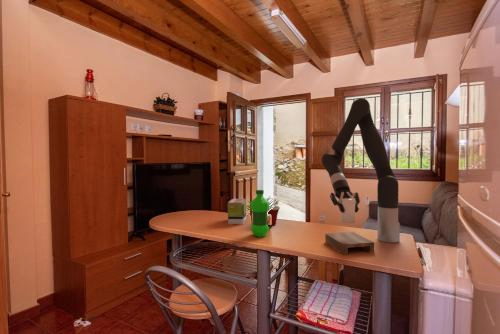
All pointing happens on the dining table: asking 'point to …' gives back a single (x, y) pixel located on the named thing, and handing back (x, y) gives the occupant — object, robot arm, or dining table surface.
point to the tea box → (237, 211)
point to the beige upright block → (348, 210)
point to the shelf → (348, 241)
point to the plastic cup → (274, 214)
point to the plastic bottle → (259, 214)
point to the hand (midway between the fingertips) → (350, 211)
